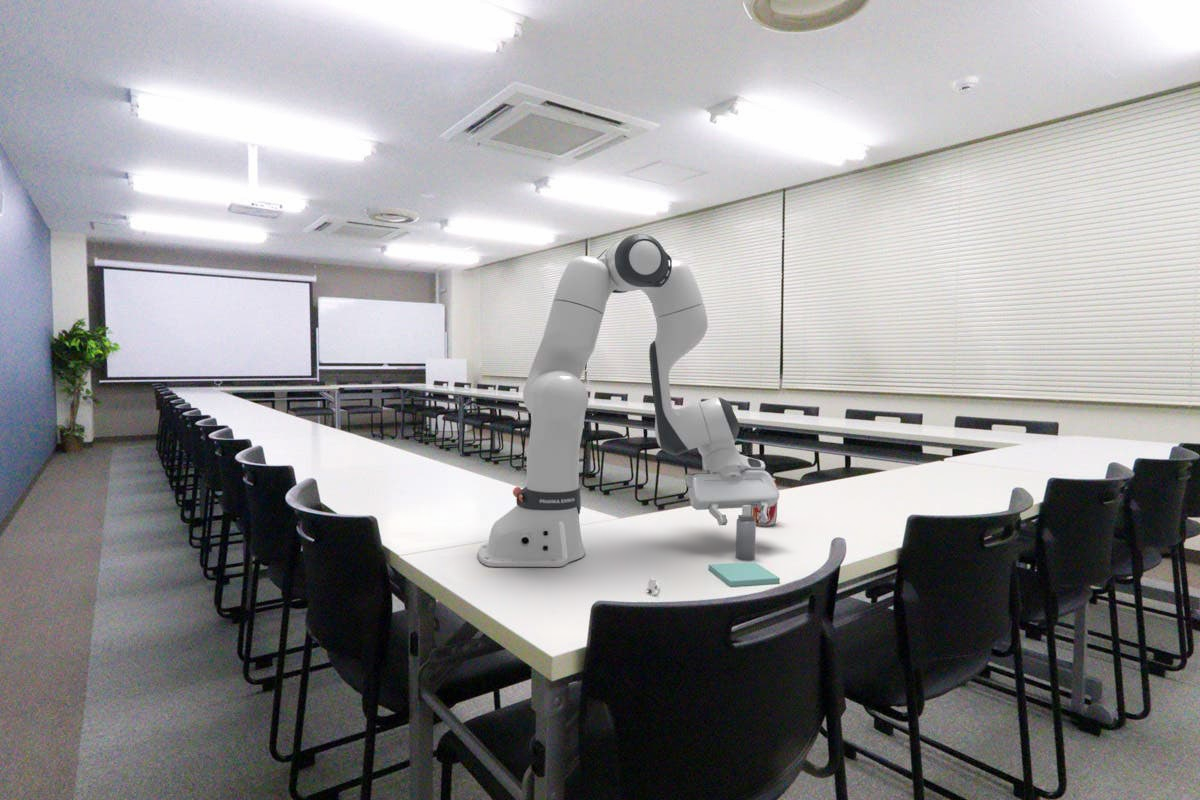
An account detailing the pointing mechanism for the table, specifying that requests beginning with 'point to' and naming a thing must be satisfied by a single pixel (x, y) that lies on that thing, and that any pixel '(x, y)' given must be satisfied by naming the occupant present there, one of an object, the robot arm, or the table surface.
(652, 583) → the power adapter
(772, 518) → the soda can
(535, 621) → the table surface
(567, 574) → the table surface
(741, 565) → the pad
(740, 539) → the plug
